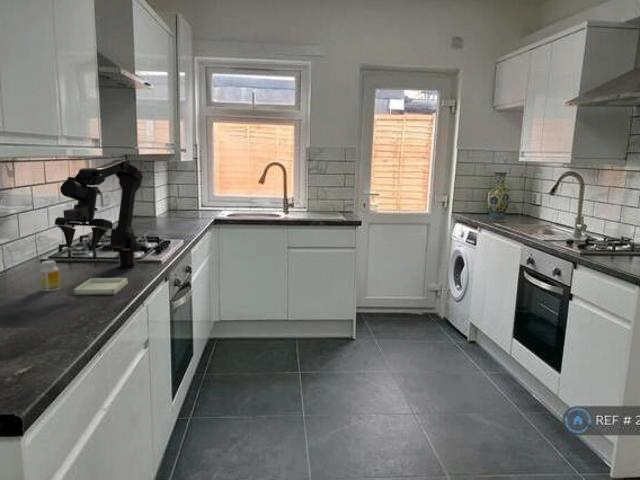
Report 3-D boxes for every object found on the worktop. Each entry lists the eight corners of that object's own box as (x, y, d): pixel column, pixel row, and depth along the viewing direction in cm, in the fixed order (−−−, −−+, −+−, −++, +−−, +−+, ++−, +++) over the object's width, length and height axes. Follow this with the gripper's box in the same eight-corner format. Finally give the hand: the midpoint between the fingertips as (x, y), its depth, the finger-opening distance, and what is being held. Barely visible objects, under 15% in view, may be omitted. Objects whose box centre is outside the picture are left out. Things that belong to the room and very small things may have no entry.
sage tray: (91, 283, 171) (90, 278, 170) (128, 282, 171) (127, 278, 171) (74, 294, 158) (73, 289, 157) (114, 294, 158) (113, 289, 158)
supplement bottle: (39, 291, 161) (36, 264, 159) (46, 287, 166) (43, 260, 164) (56, 291, 161) (53, 263, 159) (63, 286, 167) (60, 259, 165)
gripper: (46, 197, 161) (39, 243, 159) (96, 198, 158) (89, 245, 156) (68, 204, 172) (62, 248, 170) (116, 206, 169) (110, 250, 167)
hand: (80, 248), depth 165 cm, fingers open, 9 cm apart
